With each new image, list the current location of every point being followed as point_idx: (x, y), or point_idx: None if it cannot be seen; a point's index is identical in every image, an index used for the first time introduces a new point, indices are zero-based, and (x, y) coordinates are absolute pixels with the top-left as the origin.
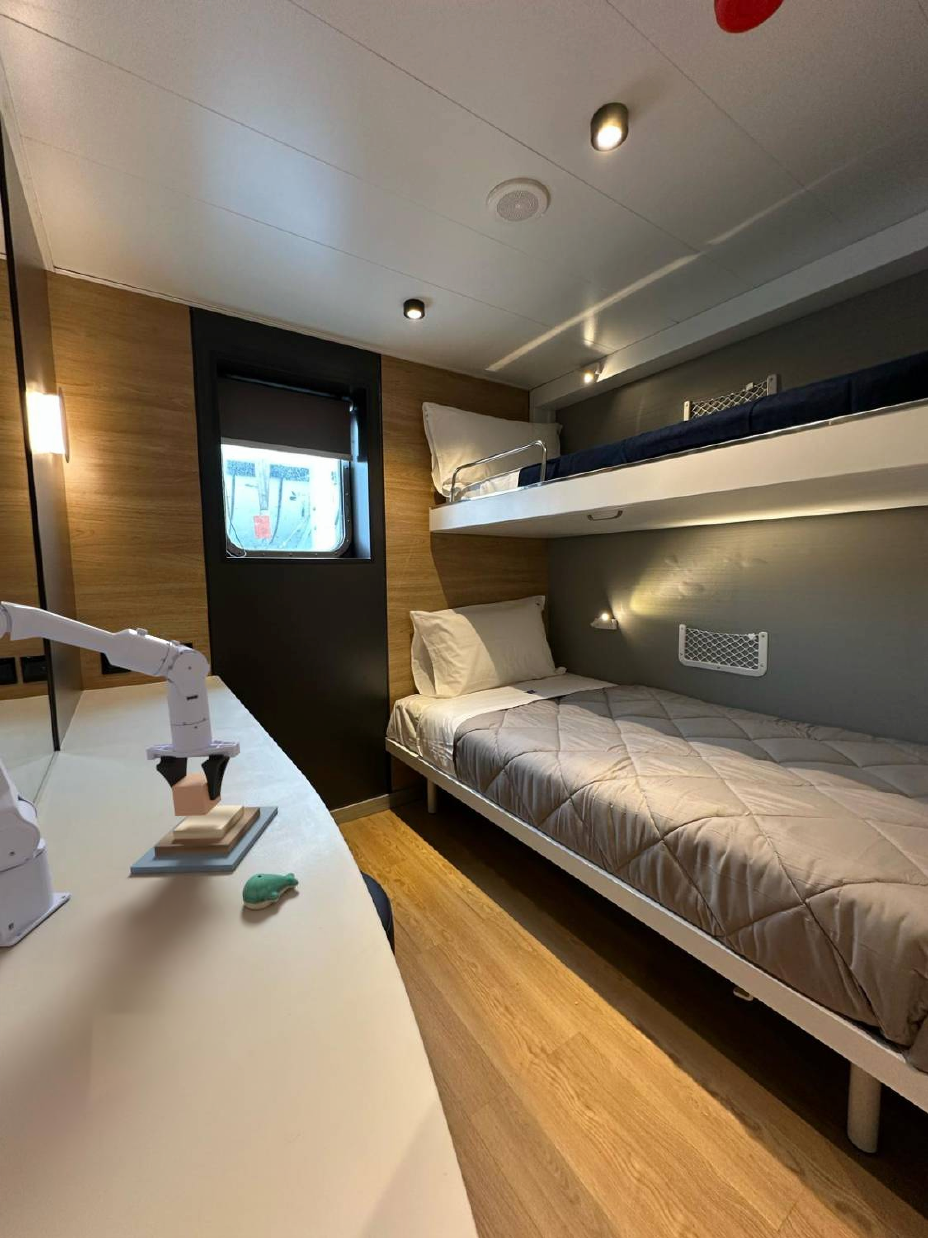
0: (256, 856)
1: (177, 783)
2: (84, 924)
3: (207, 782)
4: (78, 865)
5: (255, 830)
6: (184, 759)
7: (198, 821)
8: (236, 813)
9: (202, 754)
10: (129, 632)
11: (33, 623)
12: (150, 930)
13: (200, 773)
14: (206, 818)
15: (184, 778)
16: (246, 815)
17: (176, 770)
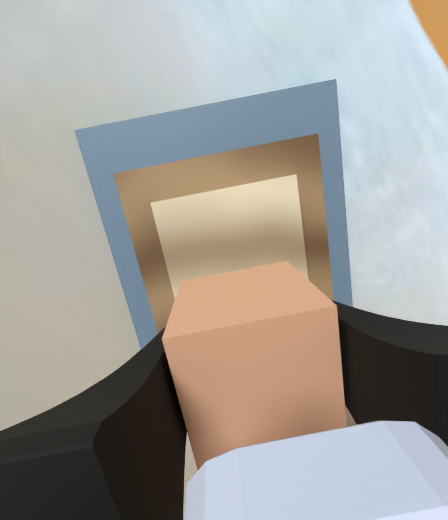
0: (371, 287)
1: (198, 443)
2: (195, 469)
3: (352, 415)
4: (17, 371)
5: (337, 218)
6: (134, 452)
7: None
8: (300, 222)
9: None
10: None
11: None
12: None
13: (232, 330)
14: (231, 267)
15: (188, 396)
16: (304, 189)
17: (171, 496)
